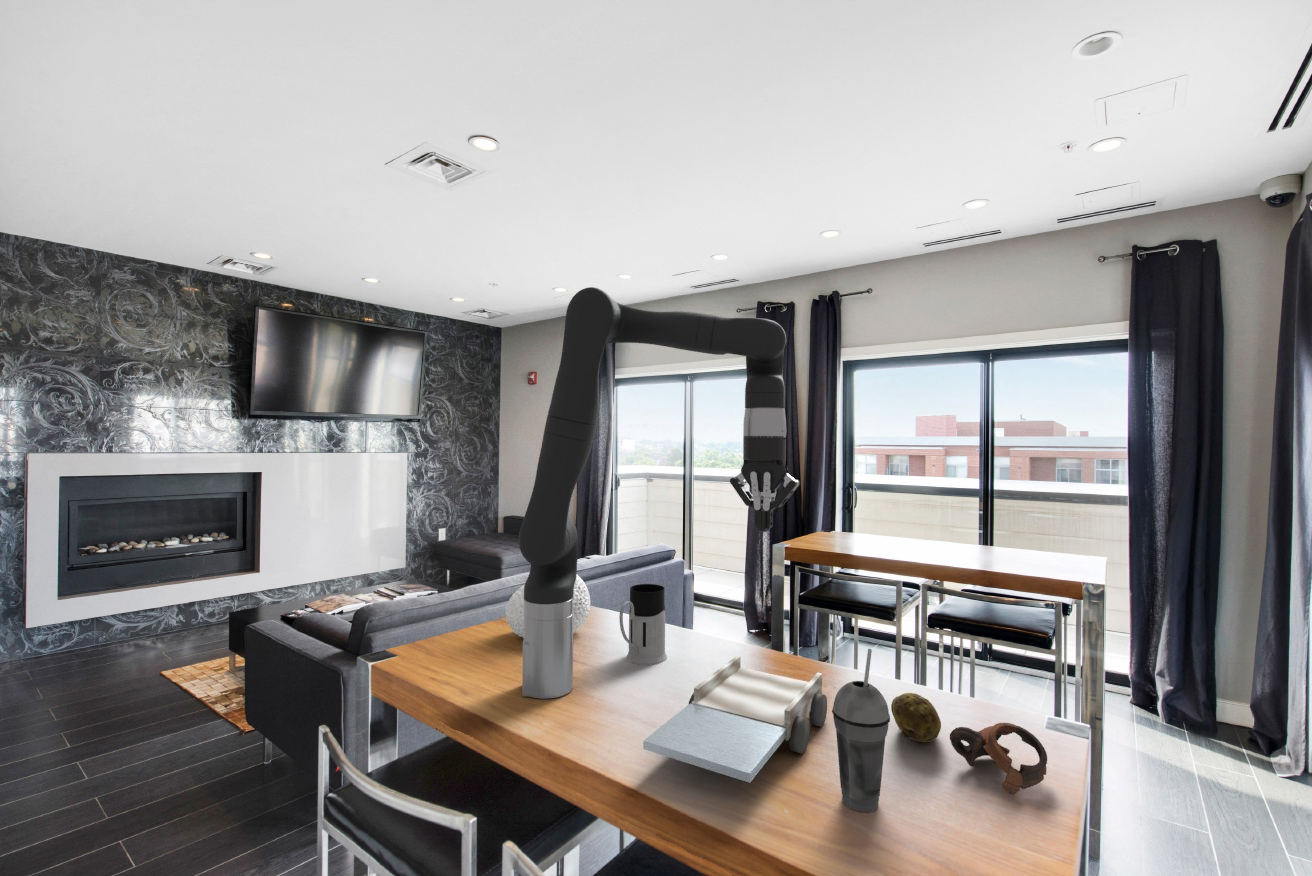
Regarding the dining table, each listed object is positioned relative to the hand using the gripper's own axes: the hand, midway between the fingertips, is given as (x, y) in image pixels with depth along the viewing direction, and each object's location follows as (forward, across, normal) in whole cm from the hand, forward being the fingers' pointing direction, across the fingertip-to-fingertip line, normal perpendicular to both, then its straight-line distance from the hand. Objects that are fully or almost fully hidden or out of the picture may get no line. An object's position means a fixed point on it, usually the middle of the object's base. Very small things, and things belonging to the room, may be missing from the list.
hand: (763, 530), depth 109 cm
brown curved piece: (+31, +37, -4) cm, 48 cm away
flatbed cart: (+31, +2, -7) cm, 32 cm away
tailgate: (+26, +2, -16) cm, 31 cm away
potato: (+31, +26, +1) cm, 40 cm away
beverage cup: (+31, +22, -21) cm, 43 cm away
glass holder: (+31, -30, +6) cm, 44 cm away
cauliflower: (+31, -57, +8) cm, 65 cm away
